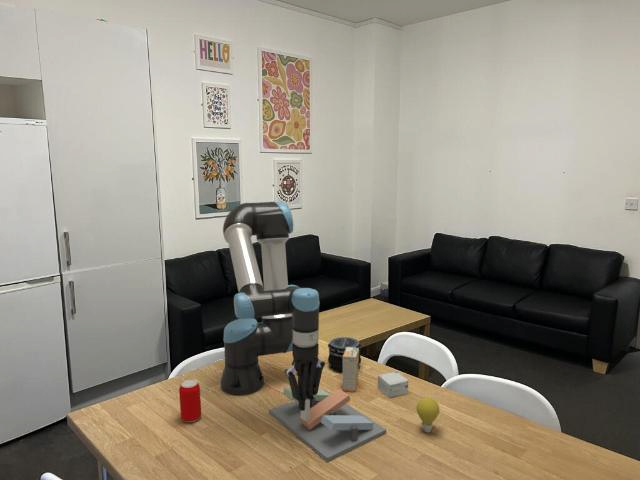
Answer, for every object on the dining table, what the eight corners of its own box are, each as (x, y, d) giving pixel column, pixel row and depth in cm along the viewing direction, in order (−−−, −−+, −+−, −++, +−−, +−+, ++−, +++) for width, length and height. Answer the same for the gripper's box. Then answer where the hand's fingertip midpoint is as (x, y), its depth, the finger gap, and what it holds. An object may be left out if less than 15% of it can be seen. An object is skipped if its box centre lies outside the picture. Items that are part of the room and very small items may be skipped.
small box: (388, 398, 161) (389, 384, 160) (377, 388, 168) (377, 374, 167) (408, 394, 164) (408, 380, 163) (396, 384, 171) (396, 370, 170)
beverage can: (205, 416, 150) (203, 380, 148) (192, 426, 145) (190, 389, 143) (190, 411, 153) (188, 376, 151) (176, 421, 147) (174, 385, 145)
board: (269, 413, 152) (269, 398, 151) (324, 392, 165) (324, 378, 164) (327, 462, 128) (327, 444, 127) (386, 433, 141) (386, 417, 140)
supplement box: (355, 392, 164) (356, 357, 162) (342, 391, 165) (342, 356, 163) (358, 381, 172) (359, 347, 170) (345, 380, 173) (345, 346, 171)
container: (324, 361, 189) (324, 337, 187) (355, 358, 192) (355, 334, 190) (332, 376, 177) (332, 350, 175) (365, 372, 180) (366, 347, 178)
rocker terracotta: (300, 422, 144) (298, 416, 143) (340, 394, 152) (338, 388, 151) (310, 431, 139) (309, 424, 139) (351, 402, 148) (349, 395, 147)
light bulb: (439, 425, 145) (441, 395, 143) (437, 438, 139) (438, 406, 137) (417, 421, 147) (418, 391, 145) (414, 433, 141) (415, 402, 139)
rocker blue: (319, 423, 135) (322, 414, 135) (359, 423, 145) (361, 415, 145) (331, 432, 131) (334, 423, 131) (372, 431, 140) (374, 423, 140)
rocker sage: (281, 394, 151) (283, 387, 151) (319, 396, 161) (321, 389, 161) (291, 402, 146) (293, 394, 146) (330, 403, 156) (332, 395, 156)
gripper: (293, 352, 130) (293, 432, 134) (331, 341, 138) (330, 417, 141) (279, 343, 136) (279, 420, 140) (316, 334, 143) (315, 407, 147)
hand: (305, 418), depth 141 cm, fingers closed
